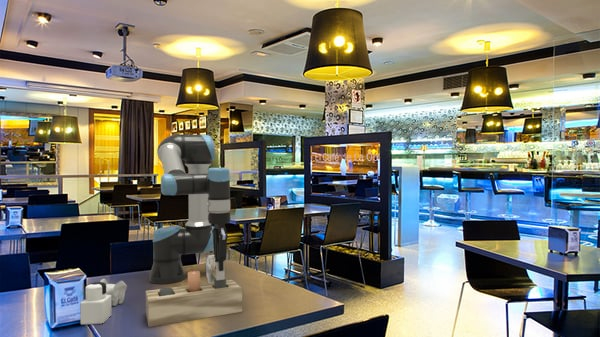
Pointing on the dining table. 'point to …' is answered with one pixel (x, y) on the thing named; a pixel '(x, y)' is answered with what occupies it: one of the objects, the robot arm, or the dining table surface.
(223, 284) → the black plug far
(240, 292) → the socket block
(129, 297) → the dining table surface
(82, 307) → the medicine bottle
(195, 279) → the terracotta plug
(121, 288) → the elephant figurine
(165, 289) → the black plug near
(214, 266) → the beer glass
